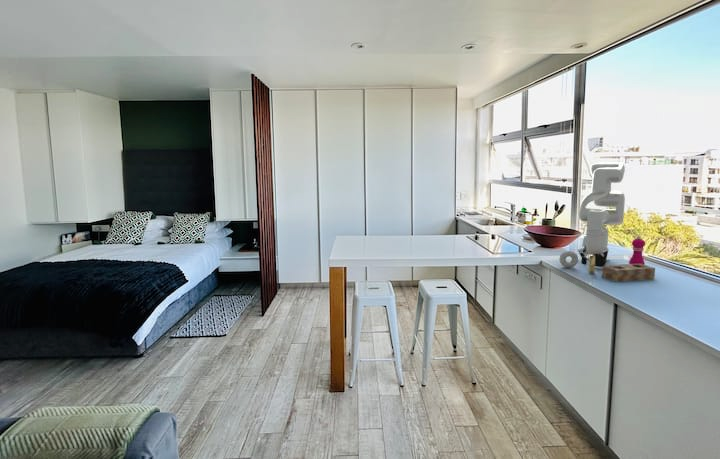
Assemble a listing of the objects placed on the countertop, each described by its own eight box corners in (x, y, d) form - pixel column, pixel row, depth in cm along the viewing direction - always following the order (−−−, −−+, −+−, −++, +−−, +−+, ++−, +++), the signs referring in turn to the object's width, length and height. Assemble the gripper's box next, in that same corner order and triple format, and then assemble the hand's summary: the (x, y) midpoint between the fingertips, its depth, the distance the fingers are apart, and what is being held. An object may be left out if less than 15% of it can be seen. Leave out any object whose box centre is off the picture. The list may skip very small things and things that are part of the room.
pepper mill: (646, 273, 226) (649, 237, 223) (631, 272, 228) (634, 237, 225) (640, 269, 233) (643, 234, 230) (626, 269, 235) (629, 234, 232)
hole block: (616, 281, 212) (617, 270, 211) (602, 276, 222) (602, 265, 221) (654, 279, 216) (655, 267, 215) (638, 274, 225) (639, 263, 224)
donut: (576, 267, 242) (578, 250, 241) (578, 268, 239) (579, 251, 237) (558, 266, 245) (559, 249, 243) (559, 267, 241) (560, 251, 240)
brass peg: (586, 272, 230) (588, 255, 228) (591, 272, 230) (593, 254, 229) (590, 274, 227) (592, 256, 225) (595, 273, 227) (596, 256, 226)
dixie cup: (608, 269, 235) (609, 250, 233) (592, 268, 238) (593, 249, 237) (606, 266, 242) (607, 247, 241) (590, 265, 246) (592, 247, 244)
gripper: (603, 231, 230) (601, 261, 232) (575, 232, 227) (573, 263, 230) (613, 233, 223) (611, 264, 225) (584, 234, 220) (582, 266, 222)
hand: (591, 263), depth 227 cm, fingers open, 9 cm apart
